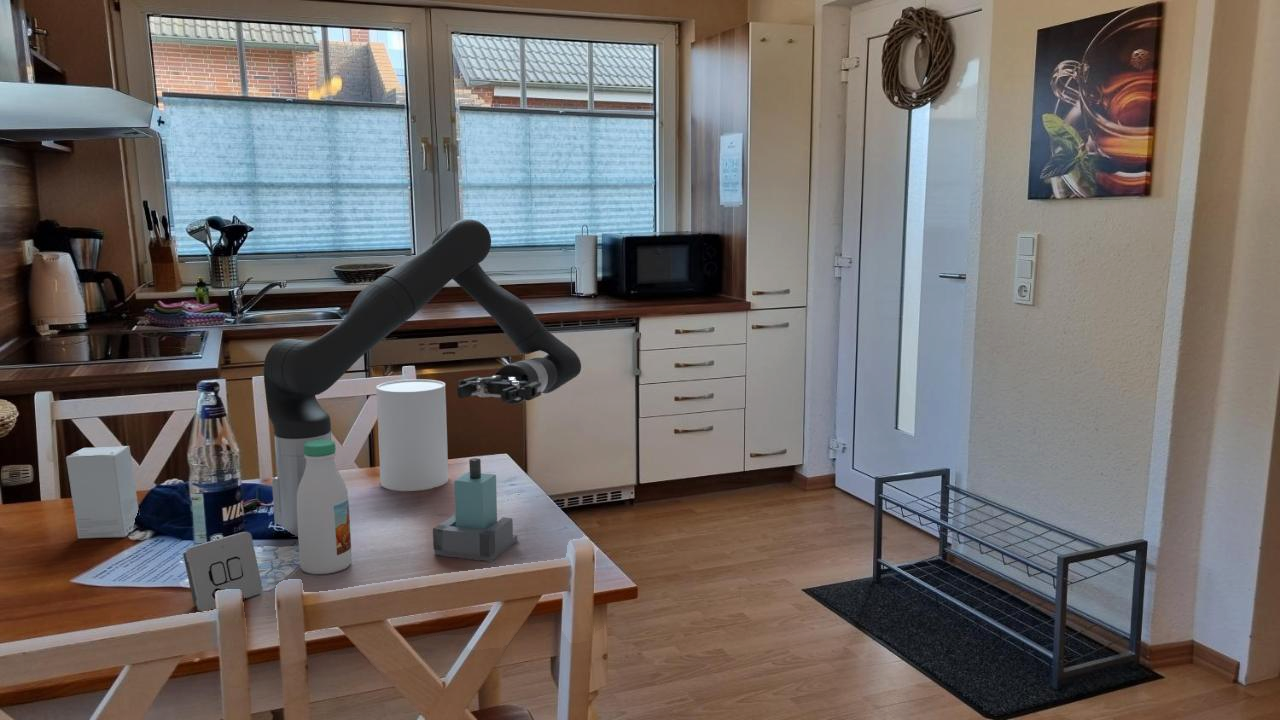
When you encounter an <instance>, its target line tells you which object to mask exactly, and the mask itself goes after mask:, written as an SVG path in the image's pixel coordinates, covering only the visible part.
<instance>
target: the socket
mask: <svg viewBox="0 0 1280 720" xmlns="http://www.w3.org/2000/svg"><path fill="white" fill-rule="evenodd" d="M513 525H514V523H513V518H512V517H502V518H500V519H499V520H497V522H496V523H495V524H493V525H492V526H490V527H489V528H488V529H486V530H479V529H470V528H462V527H456V516H455V514H454V515H453V516H450V517H449V518H447V519H446V520H444V521H442V522H441V523H440V524H438V525H436V526H435V527H434V528H432V537H433V538H432V539H433V544H432V545H433V550H434V555H435V556H440V557H441V556H442V557H449V558H456V557H458V558H457V559H464V558H466V560H472V559H475V560H474V561H480V560H482V562H488V563H489V562H490V563H491V562H492V561H494V560H495V559H496V558H498V556H500V555H501V554H503V553H504V552H505V551H506V550H507V549H509V548H510V547H511V546H513V545H514V544H515V543H517V541H518V534H514V532H513V530H514V526H513ZM493 559H494V560H493ZM483 560H484V561H483Z"/></svg>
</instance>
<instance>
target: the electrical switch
mask: <svg viewBox="0 0 1280 720" xmlns="http://www.w3.org/2000/svg"><path fill="white" fill-rule="evenodd" d="M182 556H183V561H184V564H185V570H186V574H187V579H188V583H189V584H188V585H189V587H190V588H189V590H190V593H191V598H192V602H193V606H194V607H196V608H197V611H198V612H200V611H207V610H210V611H212V610H211V609H213V610H215V593H216V591H217V590H225V589H240V590H242V591H243V596H244V599H243V600H245V598H246V599H249V598H251V597H254V596H257V595H260V594H261V593H262V592H263V584H262V583H263V582H262V578H261V574H260V568H259V566H258V561H257V556H256V551H255V545H254V542H253V536H252V533H251V532H248V531H243V532H238V533H234V534H232V535H228V536H225V537H220V538H216V539H212V540H209V541H207V542H203V543H200V544H194V545H193V546H190V547H187V549H186V551H185V552H183V553H182ZM207 612H208V611H207Z"/></svg>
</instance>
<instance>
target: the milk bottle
mask: <svg viewBox="0 0 1280 720" xmlns="http://www.w3.org/2000/svg"><path fill="white" fill-rule="evenodd" d="M336 451H337V450H336V442H335V441H334V440H332V439H331V440H314V441H310V442H307V443H305V444H304V454H305V456H304V458H306V467H305V471H304V474H303V477H302V479H301V482H300V484H299V487H298V492H297V522H298V536H297V538H298V550H299V551H298V554H299V555H298V556H299V567H300V569H301V570H302V571H303V572H304V573H306V574H311V575H327V574H332V573H337V572H338V573H339V572H340V571H343V570H345V569H347V568H348V567H350V565H351V563H352V562H353V561H352V559H353V558H352V539H351V537H352V536H351V535H352V534H351V520H350V505H349V493H348V489H347V486H346V482H345V480H344V479H343V477H342V474H341V473H340V471H339V470H338V467H337V464H336V461H335V456H336V455H337V454H336Z"/></svg>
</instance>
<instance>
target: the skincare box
mask: <svg viewBox="0 0 1280 720" xmlns="http://www.w3.org/2000/svg"><path fill="white" fill-rule="evenodd" d="M130 448H131V447H130V445H123V446H122V445H121V446H118V445H117V446H104V447H103V446H102V447H101V446H100V447H83V448H81V449H79V450H77V451H74V452H73V453H71V454H70V455H67V456H66V457H65V459H66V466H67V467H66V468H67V473H68V480H69V486H70V493H71V494H70V495H71V500H72V506H73V512H74V519H75V526H76V532H77V539H97V538H98V539H101V538H105V539H106V538H126V537H127V536H129V534H128V533H129V532H130V530H131V528H132V526H133V525H134V523H135V518H136V516H137V513H138V510H139V504H138V503H139V502H138V497H137V490H136V489H137V488H136V484H135V476H134V469H133V462H132V456H131V455H132V454H131V449H130ZM139 511H140V510H139Z"/></svg>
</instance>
